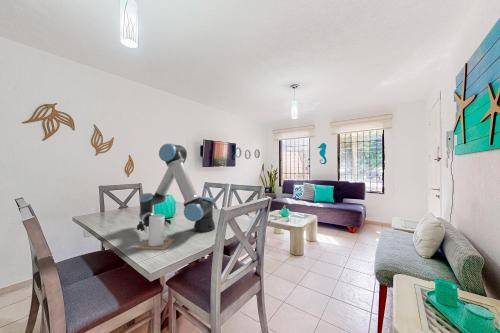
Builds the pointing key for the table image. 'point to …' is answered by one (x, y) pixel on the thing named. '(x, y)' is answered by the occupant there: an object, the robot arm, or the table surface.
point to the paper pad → (163, 246)
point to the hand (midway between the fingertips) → (158, 228)
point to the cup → (156, 230)
